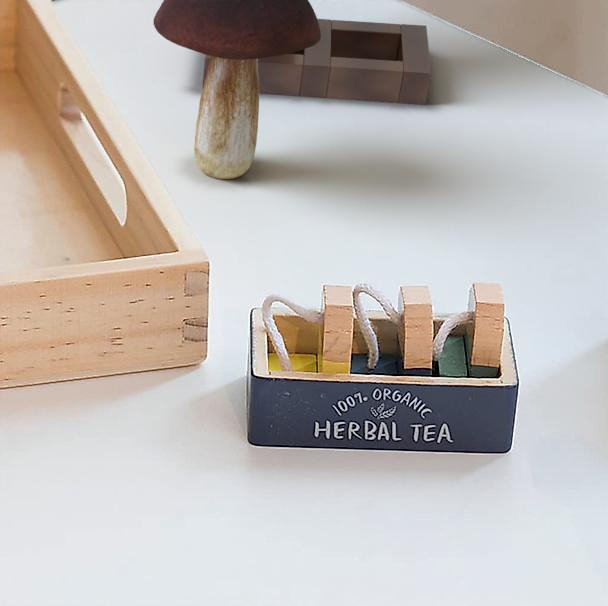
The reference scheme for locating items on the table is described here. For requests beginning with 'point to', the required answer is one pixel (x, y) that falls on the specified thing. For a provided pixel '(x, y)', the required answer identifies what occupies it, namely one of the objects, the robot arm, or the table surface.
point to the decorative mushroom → (234, 67)
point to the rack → (353, 64)
